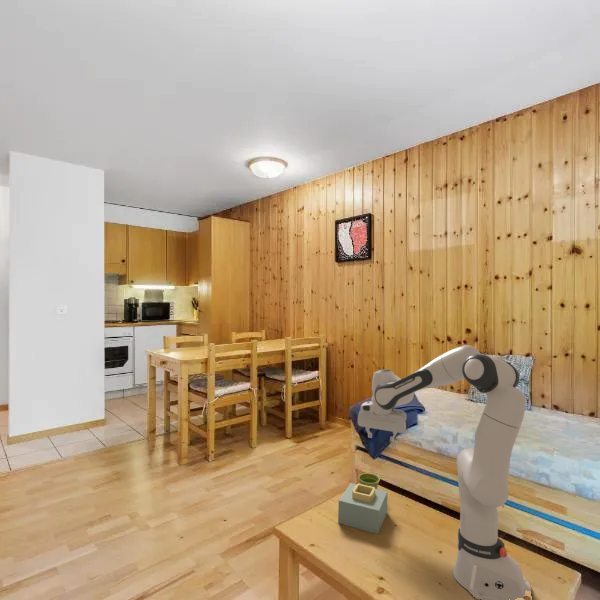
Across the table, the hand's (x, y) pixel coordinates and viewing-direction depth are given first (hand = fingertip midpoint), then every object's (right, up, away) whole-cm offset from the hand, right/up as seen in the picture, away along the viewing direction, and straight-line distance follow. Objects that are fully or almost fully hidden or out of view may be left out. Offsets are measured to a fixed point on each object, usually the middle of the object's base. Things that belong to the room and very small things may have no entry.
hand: (380, 439), depth 166 cm
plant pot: (-4, -29, +8) cm, 30 cm away
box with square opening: (-9, -29, -8) cm, 31 cm away
